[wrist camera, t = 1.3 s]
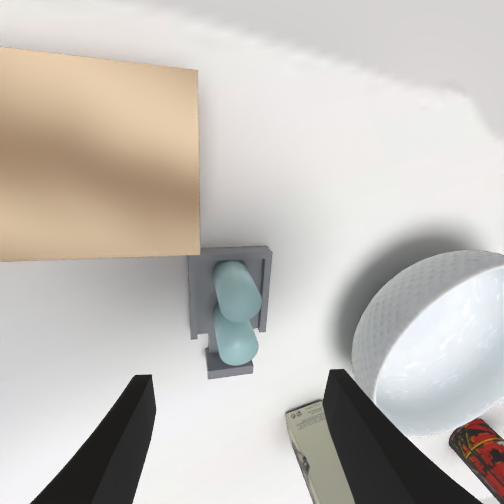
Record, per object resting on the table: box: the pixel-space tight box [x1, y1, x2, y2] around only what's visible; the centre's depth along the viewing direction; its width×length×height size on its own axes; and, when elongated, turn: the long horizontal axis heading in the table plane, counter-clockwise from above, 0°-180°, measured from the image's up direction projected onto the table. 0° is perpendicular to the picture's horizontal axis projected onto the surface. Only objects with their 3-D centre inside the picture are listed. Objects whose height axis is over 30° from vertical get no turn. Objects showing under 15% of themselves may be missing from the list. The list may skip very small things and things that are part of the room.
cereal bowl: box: [351, 250, 504, 438], centre depth 25 cm, size 17×17×7 cm
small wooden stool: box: [0, 47, 200, 262], centre depth 13 cm, size 8×13×7 cm, turn 87°
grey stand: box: [188, 246, 272, 379], centre depth 20 cm, size 10×6×5 cm, turn 177°
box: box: [286, 401, 355, 504], centre depth 24 cm, size 5×4×13 cm
